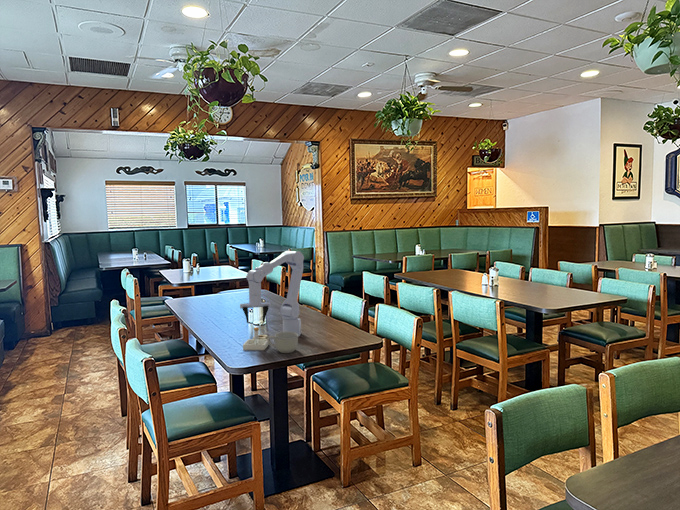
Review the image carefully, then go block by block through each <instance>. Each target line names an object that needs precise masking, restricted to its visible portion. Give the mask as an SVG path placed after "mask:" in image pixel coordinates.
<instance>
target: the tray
mask: <svg viewBox="0 0 680 510" xmlns="http://www.w3.org/2000/svg"><path fill="white" fill-rule="evenodd" d="M269 345H270V344H269V343H268V341H267V339H258V345H254V339H253V338H252V339H251V338H250V339H249V338H248V339H247V340H246V341H245V342H244V343H243V344H242V350H243V351H265V350H266V349H267V348H268V346H269Z"/></svg>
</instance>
